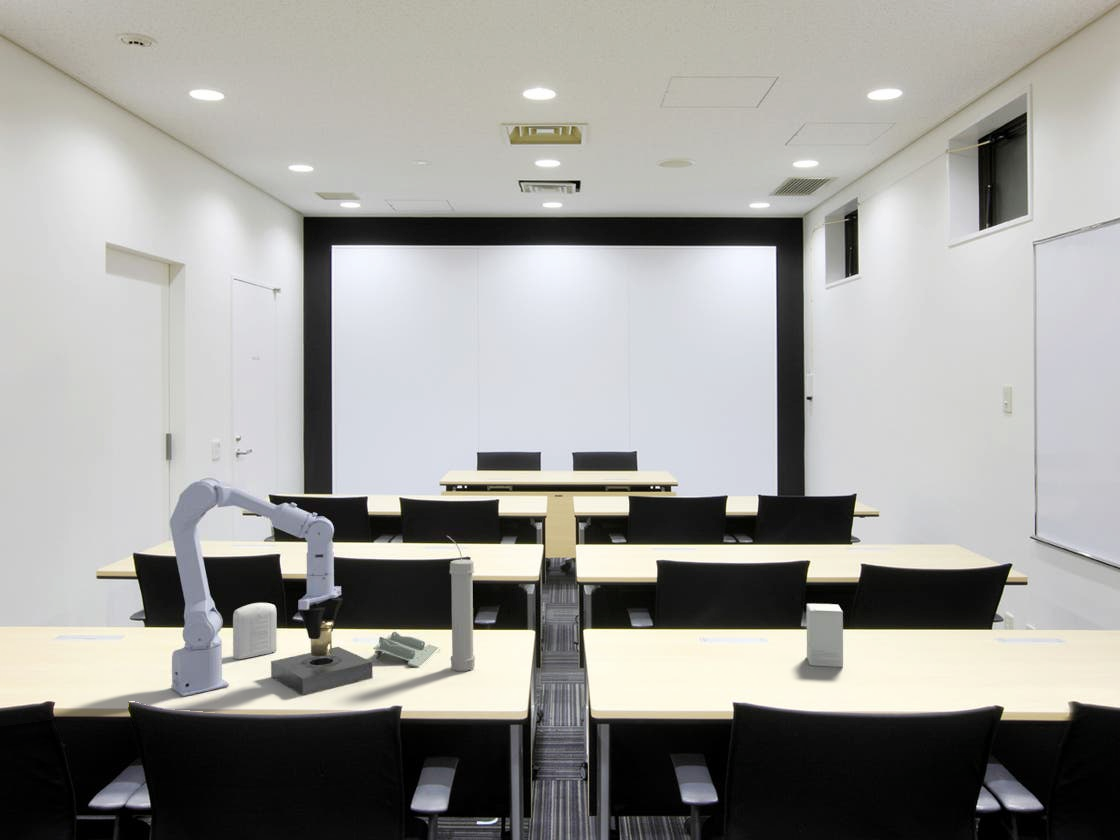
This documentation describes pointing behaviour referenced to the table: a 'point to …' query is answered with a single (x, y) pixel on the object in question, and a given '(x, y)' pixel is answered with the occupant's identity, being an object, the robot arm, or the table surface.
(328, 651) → the round door knob
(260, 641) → the white rounded block
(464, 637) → the pipe
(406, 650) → the metal bracket
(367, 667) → the grey flat block
